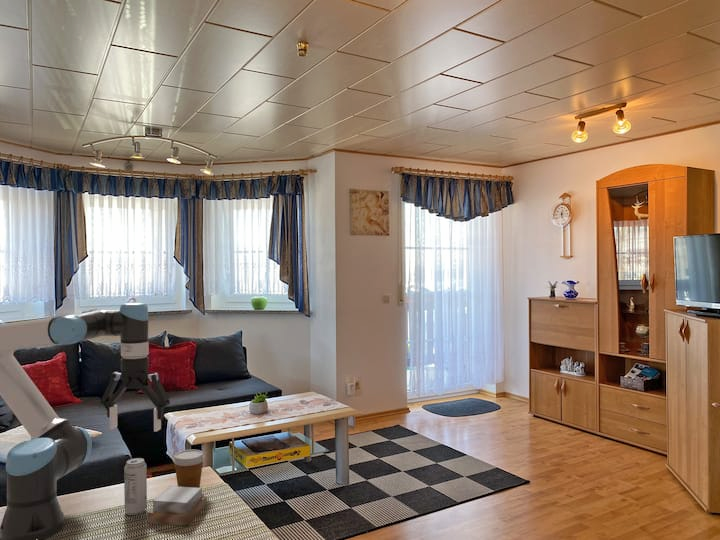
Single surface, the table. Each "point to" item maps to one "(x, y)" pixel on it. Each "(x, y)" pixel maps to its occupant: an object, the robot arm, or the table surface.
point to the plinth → (177, 516)
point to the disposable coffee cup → (188, 468)
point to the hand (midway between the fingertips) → (135, 429)
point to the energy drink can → (135, 486)
